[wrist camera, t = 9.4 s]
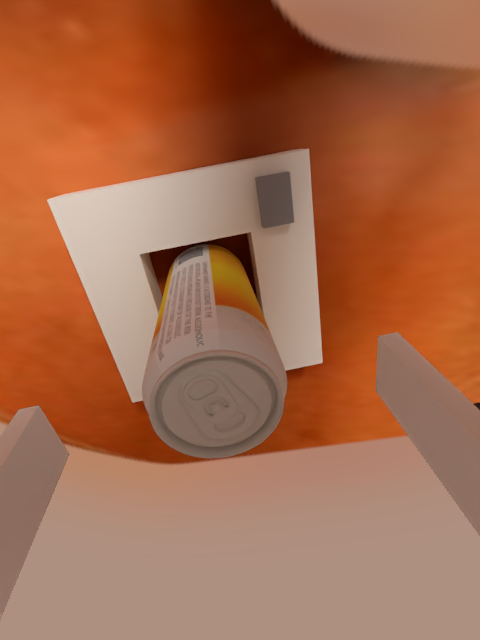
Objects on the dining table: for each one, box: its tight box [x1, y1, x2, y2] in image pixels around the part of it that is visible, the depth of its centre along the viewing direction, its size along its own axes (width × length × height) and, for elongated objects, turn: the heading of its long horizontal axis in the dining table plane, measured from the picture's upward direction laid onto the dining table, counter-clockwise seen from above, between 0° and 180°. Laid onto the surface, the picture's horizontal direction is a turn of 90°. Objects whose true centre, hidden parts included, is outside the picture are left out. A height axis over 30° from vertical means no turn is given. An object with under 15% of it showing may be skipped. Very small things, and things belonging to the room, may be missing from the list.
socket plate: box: [47, 149, 323, 403], centre depth 24 cm, size 16×16×4 cm
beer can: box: [142, 244, 287, 458], centre depth 20 cm, size 6×6×15 cm
